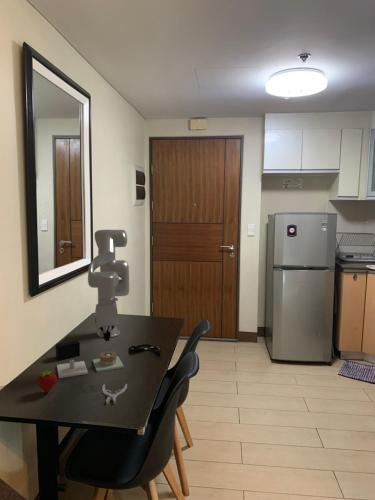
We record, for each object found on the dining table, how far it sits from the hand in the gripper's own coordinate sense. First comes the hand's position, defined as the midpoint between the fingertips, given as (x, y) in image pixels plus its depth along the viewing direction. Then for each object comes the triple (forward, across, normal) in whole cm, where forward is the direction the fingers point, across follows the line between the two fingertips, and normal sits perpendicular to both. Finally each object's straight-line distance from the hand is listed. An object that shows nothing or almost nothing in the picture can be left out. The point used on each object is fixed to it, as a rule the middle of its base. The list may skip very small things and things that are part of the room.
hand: (106, 340), depth 172 cm
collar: (+10, 0, +2) cm, 10 cm away
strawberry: (+12, +28, +17) cm, 35 cm away
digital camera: (+11, +15, -16) cm, 25 cm away
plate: (+11, 0, +1) cm, 11 cm away
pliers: (+12, +5, +29) cm, 32 cm away
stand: (+11, +16, 0) cm, 20 cm away
